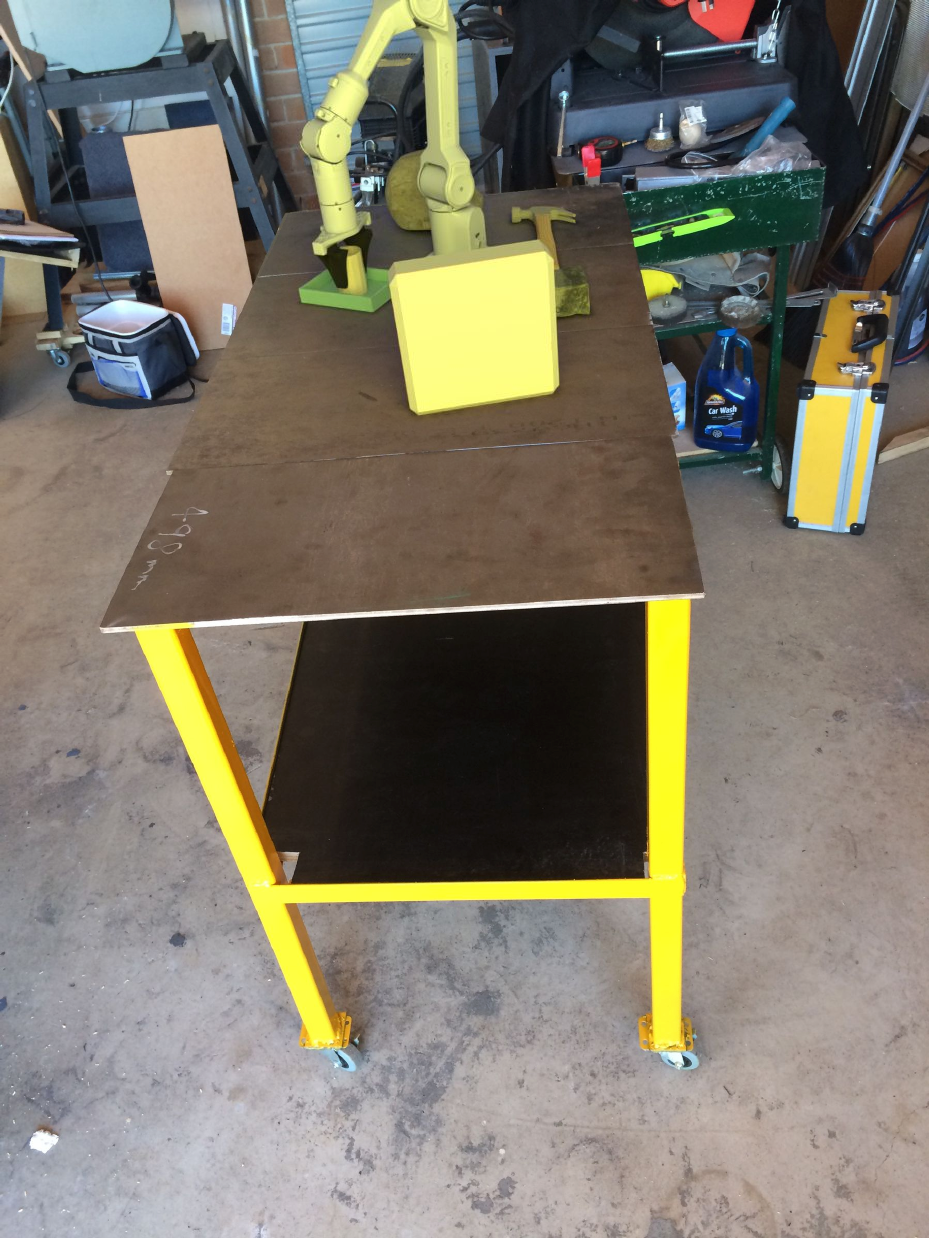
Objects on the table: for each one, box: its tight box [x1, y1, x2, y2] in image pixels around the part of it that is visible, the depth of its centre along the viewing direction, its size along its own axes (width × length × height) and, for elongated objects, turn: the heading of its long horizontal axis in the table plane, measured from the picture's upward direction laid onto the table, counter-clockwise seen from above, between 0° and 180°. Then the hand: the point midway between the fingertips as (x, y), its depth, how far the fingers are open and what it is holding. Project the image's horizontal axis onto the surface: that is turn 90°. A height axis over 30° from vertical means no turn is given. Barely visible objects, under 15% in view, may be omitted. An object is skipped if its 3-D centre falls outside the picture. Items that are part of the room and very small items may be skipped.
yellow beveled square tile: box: [388, 239, 560, 416], centre depth 126 cm, size 21×8×20 cm, turn 97°
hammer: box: [511, 205, 576, 270], centre depth 171 cm, size 12×3×30 cm
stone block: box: [554, 265, 591, 318], centre depth 150 cm, size 9×14×5 cm, turn 92°
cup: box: [337, 245, 368, 295], centre depth 162 cm, size 5×5×7 cm
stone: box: [384, 148, 484, 231], centre depth 179 cm, size 19×7×15 cm, turn 77°
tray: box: [298, 266, 392, 313], centre depth 164 cm, size 15×11×2 cm
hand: (351, 280), depth 163 cm, fingers closed on cup, 5 cm apart
